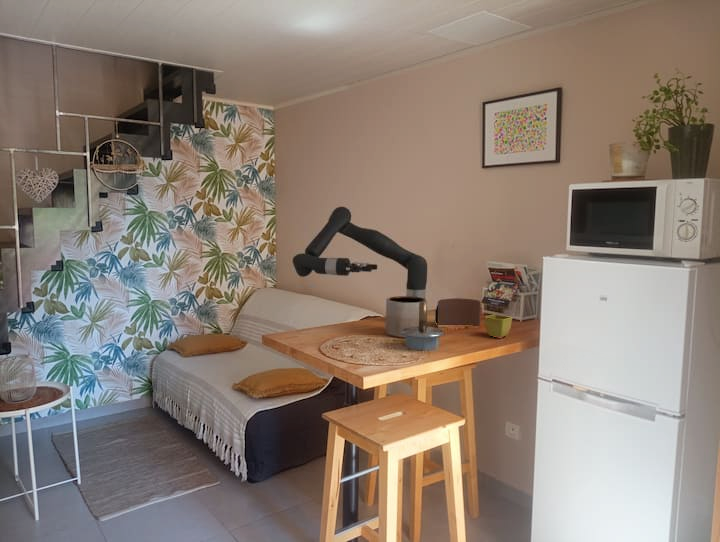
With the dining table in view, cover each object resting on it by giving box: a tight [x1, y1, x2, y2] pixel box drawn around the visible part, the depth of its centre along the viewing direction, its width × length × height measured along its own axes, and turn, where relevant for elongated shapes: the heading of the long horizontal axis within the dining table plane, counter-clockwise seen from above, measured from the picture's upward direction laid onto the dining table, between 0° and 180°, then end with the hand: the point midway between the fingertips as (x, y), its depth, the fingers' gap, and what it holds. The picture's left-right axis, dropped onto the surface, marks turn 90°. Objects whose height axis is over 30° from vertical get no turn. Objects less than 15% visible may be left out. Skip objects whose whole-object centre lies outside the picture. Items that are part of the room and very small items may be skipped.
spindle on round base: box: [401, 300, 445, 338], centre depth 217 cm, size 17×17×13 cm
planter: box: [385, 295, 427, 339], centre depth 240 cm, size 18×18×16 cm
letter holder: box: [434, 297, 482, 327], centre depth 258 cm, size 10×20×14 cm, turn 88°
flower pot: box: [484, 313, 513, 337], centre depth 236 cm, size 9×9×9 cm
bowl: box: [405, 336, 440, 352], centre depth 218 cm, size 12×12×6 cm
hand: (374, 268), depth 229 cm, fingers open, 8 cm apart
